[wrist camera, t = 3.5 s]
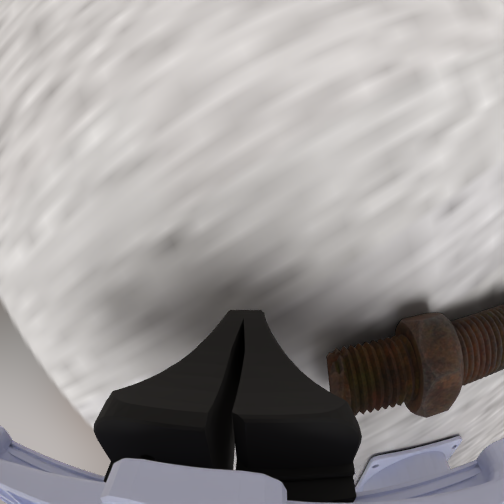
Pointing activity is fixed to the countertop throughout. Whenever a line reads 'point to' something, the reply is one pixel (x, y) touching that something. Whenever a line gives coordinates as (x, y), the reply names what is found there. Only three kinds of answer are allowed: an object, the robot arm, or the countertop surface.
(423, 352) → the bolt
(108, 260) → the countertop surface
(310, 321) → the countertop surface
